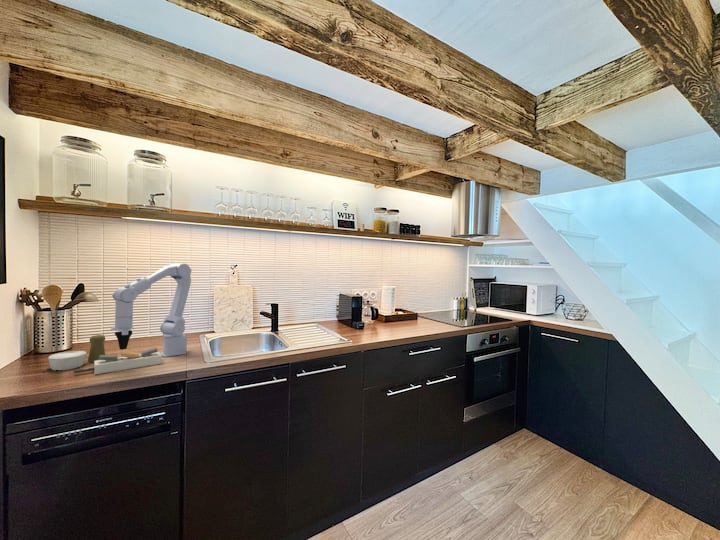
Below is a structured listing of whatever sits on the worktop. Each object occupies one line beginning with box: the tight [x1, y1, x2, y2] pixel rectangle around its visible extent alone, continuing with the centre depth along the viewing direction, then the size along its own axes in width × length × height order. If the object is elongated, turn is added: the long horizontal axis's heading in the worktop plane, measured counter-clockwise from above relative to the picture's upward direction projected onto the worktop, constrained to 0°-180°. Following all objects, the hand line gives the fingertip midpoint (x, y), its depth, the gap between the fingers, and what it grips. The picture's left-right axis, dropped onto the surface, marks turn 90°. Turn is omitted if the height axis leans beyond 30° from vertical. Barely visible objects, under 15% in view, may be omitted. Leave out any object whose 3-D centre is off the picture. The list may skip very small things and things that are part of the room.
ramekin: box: [47, 350, 88, 372], centre depth 121 cm, size 11×11×5 cm
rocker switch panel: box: [73, 351, 163, 375], centre depth 122 cm, size 28×7×4 cm, turn 133°
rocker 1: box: [99, 354, 118, 360], centre depth 119 cm, size 6×3×1 cm, turn 133°
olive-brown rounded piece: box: [87, 334, 106, 363], centre depth 130 cm, size 6×6×11 cm
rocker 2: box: [140, 347, 159, 357], centre depth 129 cm, size 6×3×1 cm, turn 132°
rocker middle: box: [120, 351, 140, 357], centre depth 124 cm, size 6×3×1 cm, turn 133°
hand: (123, 348), depth 122 cm, fingers closed
